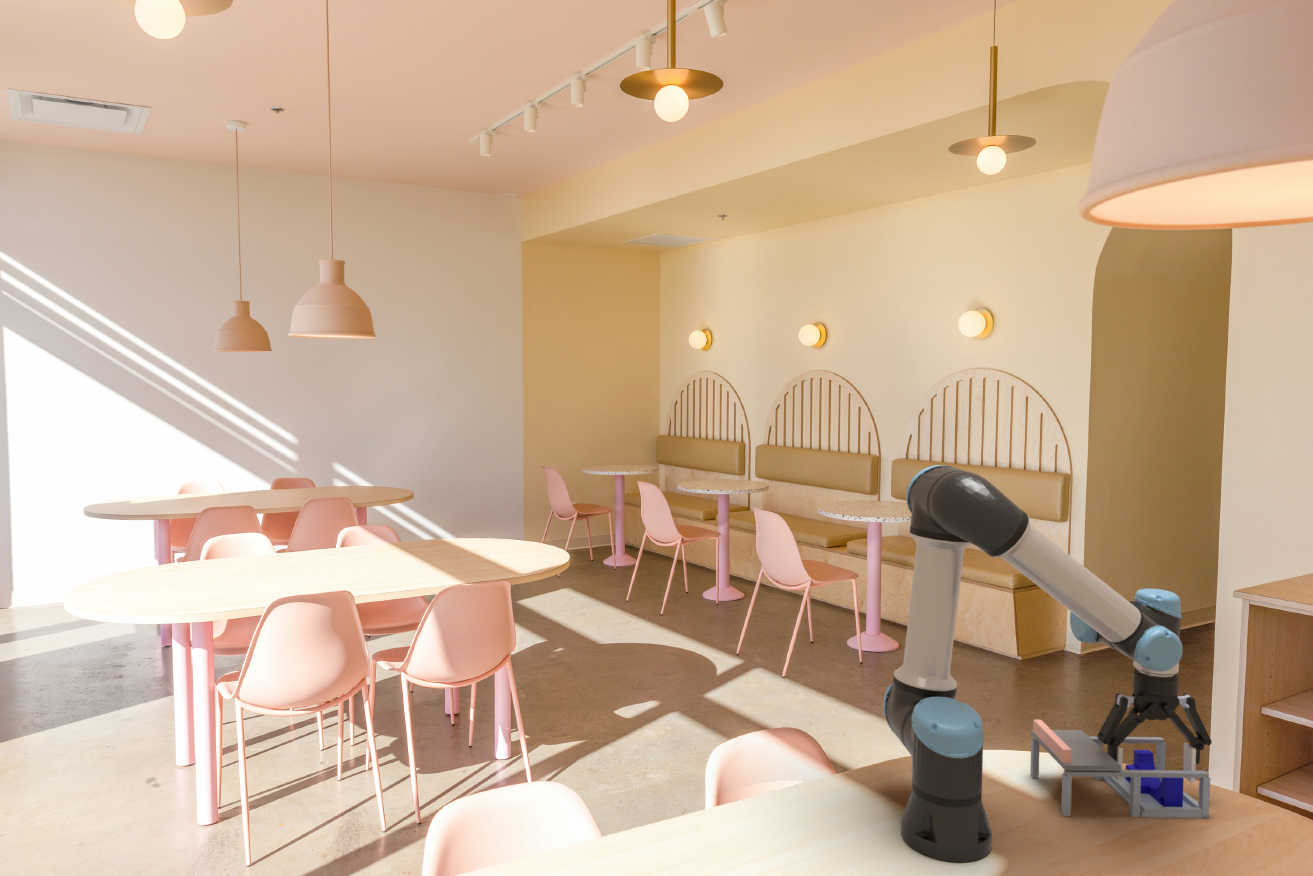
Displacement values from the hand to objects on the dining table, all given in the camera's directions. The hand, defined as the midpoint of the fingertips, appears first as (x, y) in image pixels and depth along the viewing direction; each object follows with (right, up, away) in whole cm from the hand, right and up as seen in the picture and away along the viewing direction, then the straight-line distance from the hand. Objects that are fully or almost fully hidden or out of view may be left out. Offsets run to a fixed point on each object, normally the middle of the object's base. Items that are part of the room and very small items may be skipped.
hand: (1152, 778), depth 164 cm
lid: (-15, +5, 0) cm, 16 cm away
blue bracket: (0, -3, 0) cm, 3 cm away
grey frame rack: (-7, -4, +1) cm, 8 cm away
